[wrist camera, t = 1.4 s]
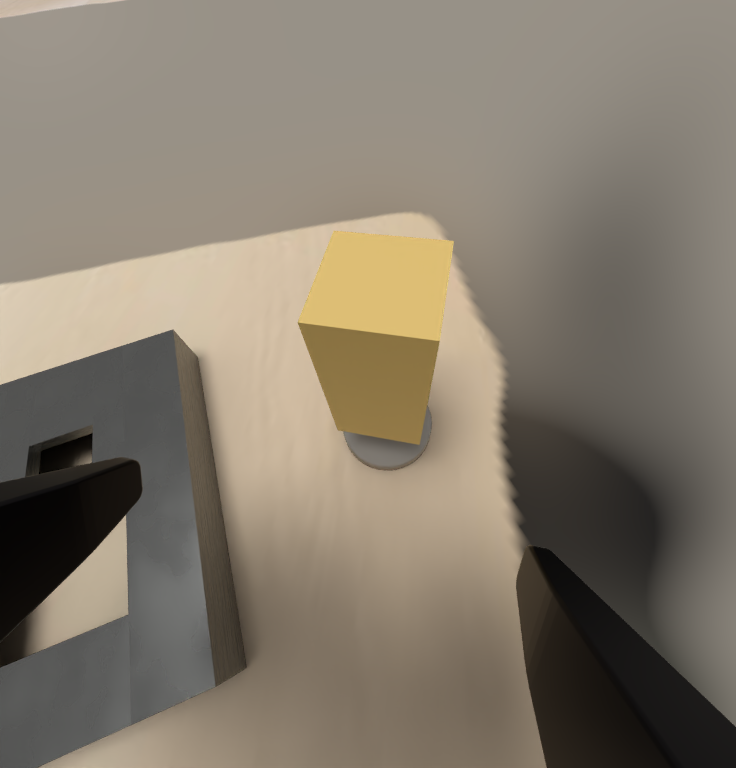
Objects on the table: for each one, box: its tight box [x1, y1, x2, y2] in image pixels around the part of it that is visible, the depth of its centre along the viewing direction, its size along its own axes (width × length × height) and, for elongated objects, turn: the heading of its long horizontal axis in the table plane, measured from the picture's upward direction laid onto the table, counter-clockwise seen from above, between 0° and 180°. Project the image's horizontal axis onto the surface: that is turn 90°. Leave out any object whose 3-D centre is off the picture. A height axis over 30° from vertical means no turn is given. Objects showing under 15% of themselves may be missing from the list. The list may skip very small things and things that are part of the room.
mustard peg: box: [298, 231, 453, 470], centre depth 17 cm, size 6×6×13 cm
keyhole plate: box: [0, 330, 246, 768], centre depth 20 cm, size 20×14×3 cm
